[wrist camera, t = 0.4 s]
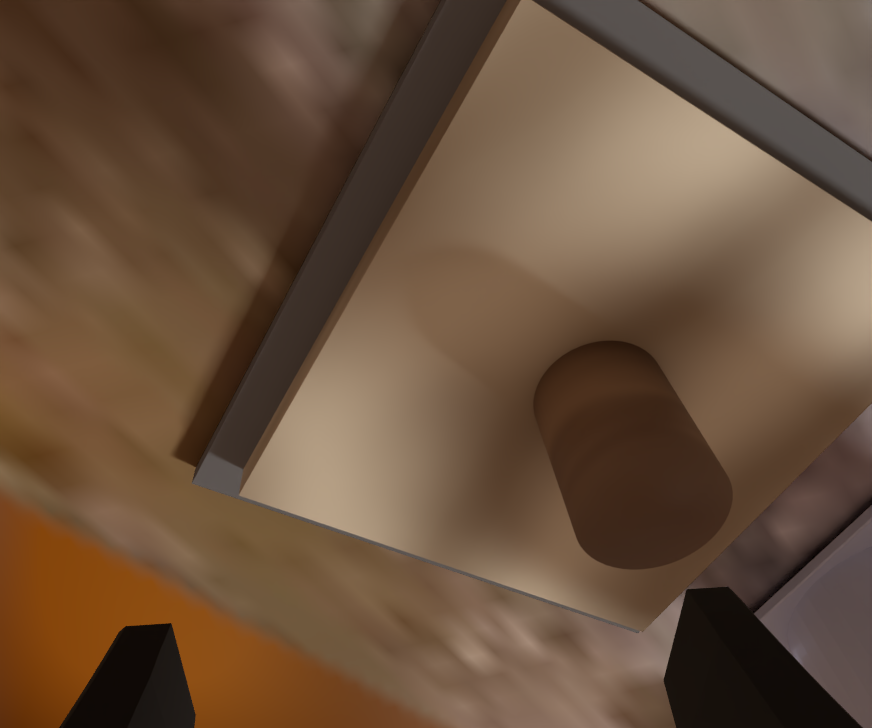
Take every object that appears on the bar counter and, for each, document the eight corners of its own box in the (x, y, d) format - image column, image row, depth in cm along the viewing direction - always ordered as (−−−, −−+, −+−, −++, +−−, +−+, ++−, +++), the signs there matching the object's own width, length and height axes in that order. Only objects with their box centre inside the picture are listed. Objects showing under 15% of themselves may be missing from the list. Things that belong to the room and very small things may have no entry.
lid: (953, 274, 19) (1124, 389, 15) (632, 605, 25) (690, 757, 20) (513, -12, 15) (580, 36, 10) (243, 469, 20) (215, 626, 16)
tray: (995, 248, 19) (1012, 258, 19) (631, 618, 26) (637, 632, 25) (492, -98, 14) (497, -97, 14) (195, 468, 21) (191, 483, 20)
